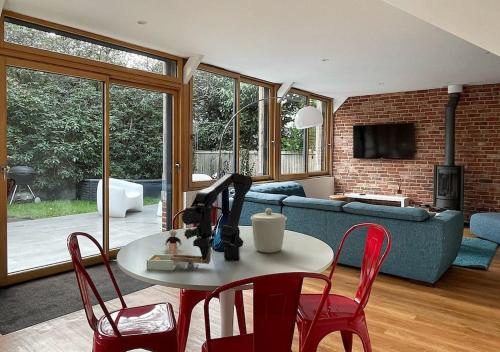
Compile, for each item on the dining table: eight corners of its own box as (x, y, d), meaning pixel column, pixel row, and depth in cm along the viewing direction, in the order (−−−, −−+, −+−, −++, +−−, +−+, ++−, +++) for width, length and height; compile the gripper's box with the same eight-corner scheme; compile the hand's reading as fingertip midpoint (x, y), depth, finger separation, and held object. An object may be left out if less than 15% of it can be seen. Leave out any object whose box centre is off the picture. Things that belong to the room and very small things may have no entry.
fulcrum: (198, 265, 161) (198, 260, 160) (195, 270, 154) (195, 264, 154) (186, 264, 161) (186, 259, 161) (183, 269, 155) (183, 264, 154)
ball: (152, 260, 160) (158, 266, 160) (149, 263, 157) (155, 268, 157) (157, 254, 160) (163, 260, 160) (154, 257, 157) (161, 262, 156)
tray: (178, 263, 162) (178, 254, 162) (172, 270, 154) (172, 260, 153) (153, 263, 163) (153, 254, 163) (146, 269, 154) (146, 260, 154)
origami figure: (182, 251, 182) (182, 241, 182) (164, 252, 180) (164, 242, 180) (179, 245, 194) (179, 236, 193) (163, 246, 191) (163, 237, 191)
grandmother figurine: (165, 257, 171) (165, 230, 171) (164, 255, 175) (164, 228, 174) (182, 256, 174) (182, 229, 173) (181, 254, 177) (181, 228, 176)
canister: (243, 252, 181) (243, 209, 180) (260, 244, 197) (260, 204, 196) (277, 257, 173) (278, 212, 171) (292, 248, 189) (292, 207, 187)
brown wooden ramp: (210, 261, 159) (211, 247, 159) (208, 265, 154) (209, 250, 154) (173, 258, 161) (174, 244, 160) (170, 262, 155) (170, 247, 155)
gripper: (191, 216, 166) (191, 251, 167) (180, 225, 147) (180, 264, 148) (216, 217, 165) (216, 252, 166) (208, 226, 146) (208, 265, 147)
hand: (205, 257), depth 157 cm, fingers closed on brown wooden ramp, 4 cm apart
